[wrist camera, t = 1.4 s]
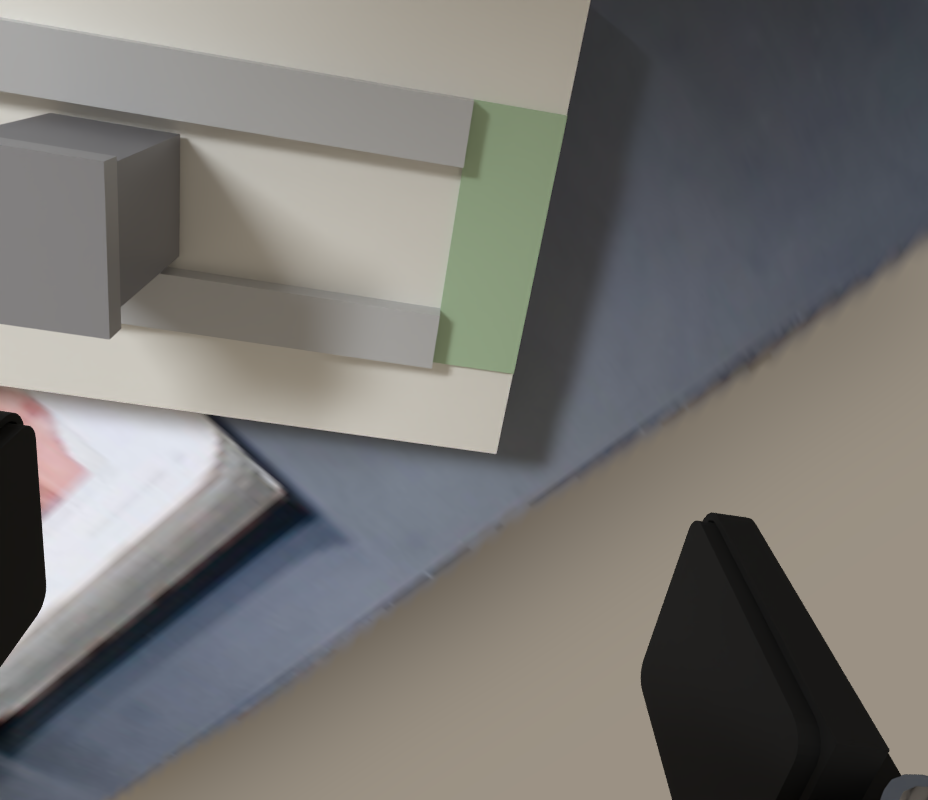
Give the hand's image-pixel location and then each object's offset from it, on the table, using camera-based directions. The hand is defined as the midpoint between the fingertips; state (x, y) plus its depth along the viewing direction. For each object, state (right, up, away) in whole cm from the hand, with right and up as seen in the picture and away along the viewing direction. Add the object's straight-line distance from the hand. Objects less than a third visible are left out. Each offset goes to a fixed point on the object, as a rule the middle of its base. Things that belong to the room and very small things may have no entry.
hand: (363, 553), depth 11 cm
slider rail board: (-10, +10, +18) cm, 23 cm away
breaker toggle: (-10, +9, +15) cm, 20 cm away
